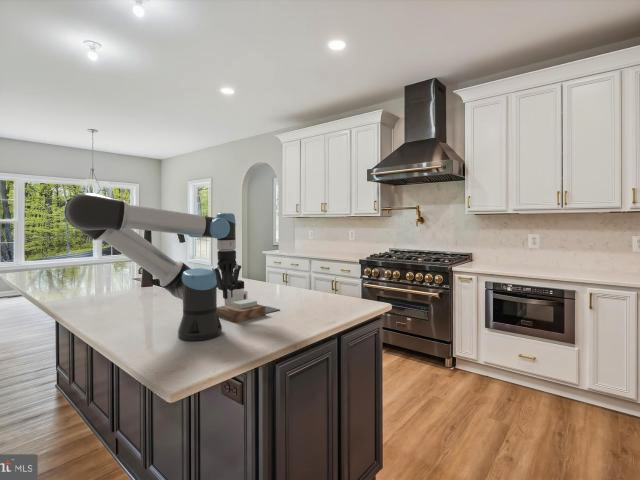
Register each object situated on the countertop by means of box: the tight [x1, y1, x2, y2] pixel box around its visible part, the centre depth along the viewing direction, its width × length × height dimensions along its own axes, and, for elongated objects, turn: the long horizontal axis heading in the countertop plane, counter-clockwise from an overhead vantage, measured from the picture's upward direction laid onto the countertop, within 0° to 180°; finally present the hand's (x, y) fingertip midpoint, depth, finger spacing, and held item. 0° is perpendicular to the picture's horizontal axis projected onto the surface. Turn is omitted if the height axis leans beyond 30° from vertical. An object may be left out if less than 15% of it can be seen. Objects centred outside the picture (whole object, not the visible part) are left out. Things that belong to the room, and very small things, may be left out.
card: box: [232, 298, 258, 309], centre depth 158 cm, size 9×6×2 cm, turn 137°
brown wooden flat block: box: [217, 303, 266, 324], centre depth 157 cm, size 16×14×4 cm
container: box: [231, 279, 249, 304], centre depth 171 cm, size 8×8×13 cm
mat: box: [264, 305, 281, 314], centre depth 166 cm, size 10×10×1 cm
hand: (228, 305), depth 152 cm, fingers closed
